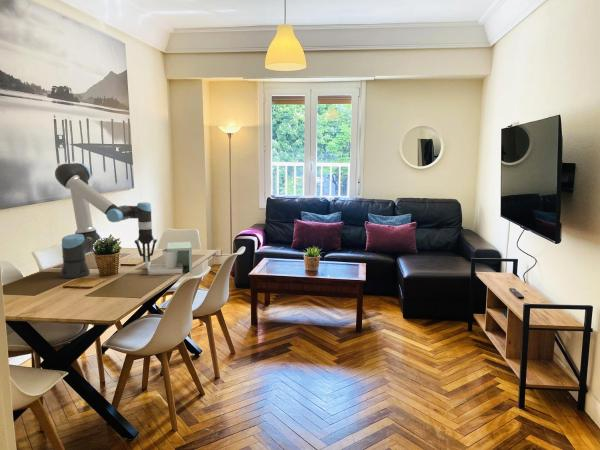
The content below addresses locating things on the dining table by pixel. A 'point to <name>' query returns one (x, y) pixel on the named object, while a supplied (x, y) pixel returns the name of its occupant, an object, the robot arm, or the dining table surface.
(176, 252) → the cup
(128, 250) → the dining table surface
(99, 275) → the dining table surface
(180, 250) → the pale green block
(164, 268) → the tray
